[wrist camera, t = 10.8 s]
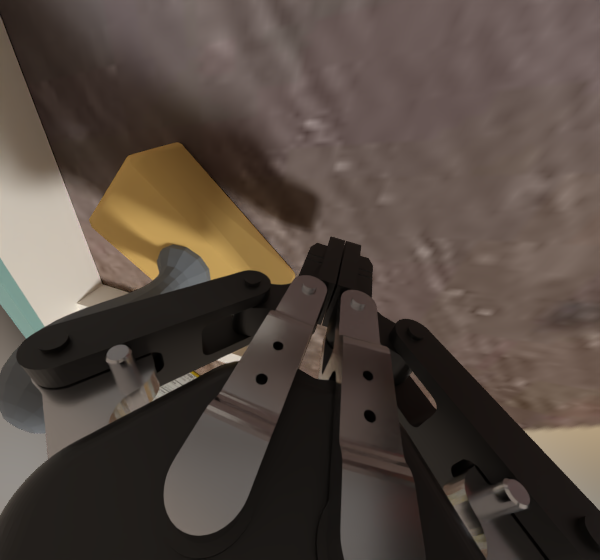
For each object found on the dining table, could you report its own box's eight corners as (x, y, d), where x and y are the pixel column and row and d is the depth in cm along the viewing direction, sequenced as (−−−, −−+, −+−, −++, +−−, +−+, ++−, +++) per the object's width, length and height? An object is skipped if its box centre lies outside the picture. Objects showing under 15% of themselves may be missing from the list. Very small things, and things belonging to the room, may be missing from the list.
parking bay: (-112, -190, 9) (-560, -444, 5) (374, -103, 8) (370, -340, 4) (92, 292, 23) (26, 339, 19) (277, 351, 22) (253, 416, 18)
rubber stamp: (299, 273, 17) (201, 504, 8) (242, 305, 20) (123, 498, 11) (180, 137, 14) (-259, 247, 4) (134, 200, 17) (-181, 346, 7)
